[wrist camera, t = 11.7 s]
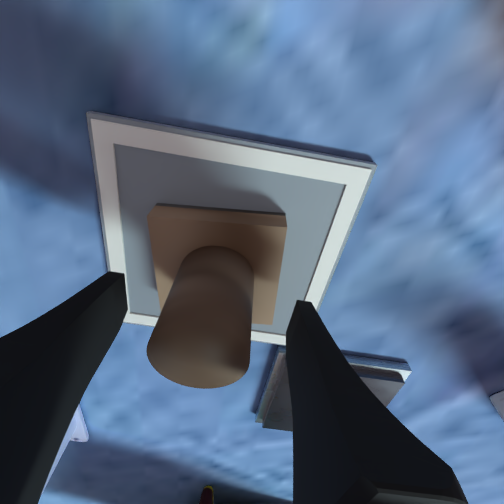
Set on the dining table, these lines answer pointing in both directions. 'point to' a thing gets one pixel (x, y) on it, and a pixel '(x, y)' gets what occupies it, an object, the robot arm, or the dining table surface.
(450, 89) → the dining table surface
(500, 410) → the skincare box
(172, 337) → the stamp
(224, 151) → the marked board
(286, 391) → the ink pad
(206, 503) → the decorative lantern
